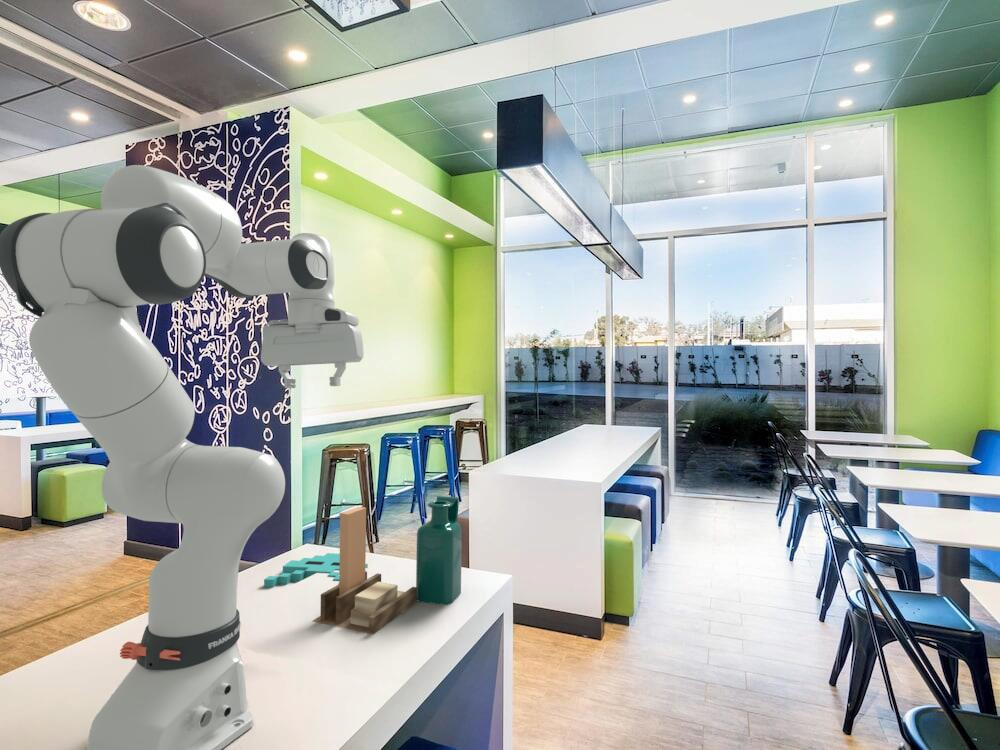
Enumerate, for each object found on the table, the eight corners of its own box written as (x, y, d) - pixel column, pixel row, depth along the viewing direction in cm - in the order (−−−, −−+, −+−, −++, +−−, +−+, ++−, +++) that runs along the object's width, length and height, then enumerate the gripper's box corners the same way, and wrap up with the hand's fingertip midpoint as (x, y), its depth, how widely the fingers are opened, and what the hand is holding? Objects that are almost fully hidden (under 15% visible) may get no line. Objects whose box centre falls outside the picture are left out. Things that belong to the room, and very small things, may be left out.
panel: (347, 614, 111) (348, 514, 111) (338, 613, 112) (340, 513, 112) (364, 603, 117) (366, 507, 117) (356, 601, 117) (358, 506, 117)
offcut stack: (372, 628, 105) (372, 601, 105) (350, 623, 107) (350, 597, 107) (405, 604, 116) (405, 580, 116) (385, 600, 118) (385, 576, 118)
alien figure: (347, 593, 127) (376, 563, 147) (348, 583, 127) (376, 555, 147) (264, 589, 129) (303, 560, 148) (264, 579, 129) (303, 552, 148)
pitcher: (450, 612, 116) (451, 507, 116) (412, 607, 118) (414, 504, 118) (465, 594, 126) (466, 497, 126) (430, 590, 128) (431, 494, 128)
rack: (373, 642, 103) (373, 607, 103) (311, 628, 108) (312, 595, 108) (416, 608, 118) (417, 577, 118) (360, 598, 123) (361, 568, 123)
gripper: (254, 318, 109) (254, 388, 108) (353, 311, 106) (354, 384, 105) (271, 323, 115) (271, 390, 114) (366, 317, 113) (367, 385, 112)
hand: (312, 387), depth 110 cm, fingers open, 8 cm apart
